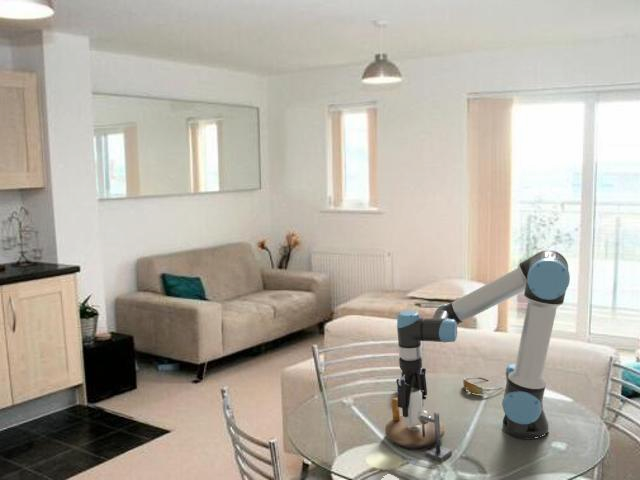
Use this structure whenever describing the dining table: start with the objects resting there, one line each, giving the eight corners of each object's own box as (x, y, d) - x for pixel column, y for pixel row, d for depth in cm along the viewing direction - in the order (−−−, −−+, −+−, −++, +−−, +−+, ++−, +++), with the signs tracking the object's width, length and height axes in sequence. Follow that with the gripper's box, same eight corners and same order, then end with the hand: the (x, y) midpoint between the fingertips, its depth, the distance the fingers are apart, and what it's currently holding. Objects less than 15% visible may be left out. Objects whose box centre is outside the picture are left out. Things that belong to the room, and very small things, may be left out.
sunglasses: (455, 387, 263) (456, 375, 262) (486, 384, 269) (487, 372, 268) (477, 399, 250) (478, 387, 249) (508, 396, 256) (509, 383, 255)
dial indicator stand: (451, 454, 211) (449, 412, 208) (441, 462, 206) (439, 419, 204) (425, 445, 218) (423, 405, 215) (415, 452, 214) (412, 411, 211)
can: (401, 419, 224) (399, 387, 222) (418, 416, 226) (416, 383, 224) (409, 427, 218) (407, 394, 216) (426, 423, 220) (424, 390, 218)
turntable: (441, 417, 232) (440, 392, 230) (447, 445, 212) (445, 417, 210) (385, 419, 234) (383, 394, 232) (385, 447, 214) (383, 420, 212)
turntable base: (447, 435, 223) (447, 429, 223) (420, 454, 212) (420, 448, 212) (410, 423, 234) (409, 417, 234) (382, 441, 223) (381, 435, 223)
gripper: (417, 346, 227) (421, 407, 231) (383, 363, 214) (387, 428, 218) (435, 350, 222) (439, 413, 226) (401, 368, 209) (405, 434, 213)
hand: (413, 420), depth 222 cm, fingers closed on can, 6 cm apart
